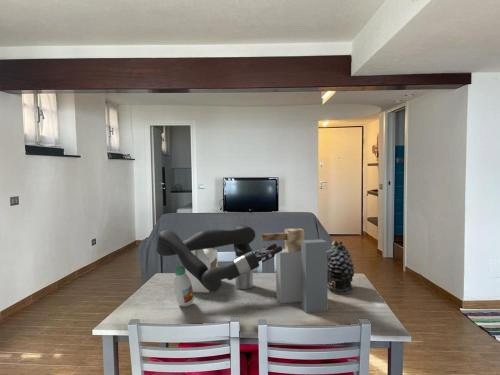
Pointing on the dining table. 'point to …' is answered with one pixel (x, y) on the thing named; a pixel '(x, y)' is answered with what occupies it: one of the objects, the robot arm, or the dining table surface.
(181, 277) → the milk bottle
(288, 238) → the oak block with handle
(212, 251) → the gable box
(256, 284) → the dining table surface
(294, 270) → the slate shelf stand
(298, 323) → the dining table surface
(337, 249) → the dark fir cone
